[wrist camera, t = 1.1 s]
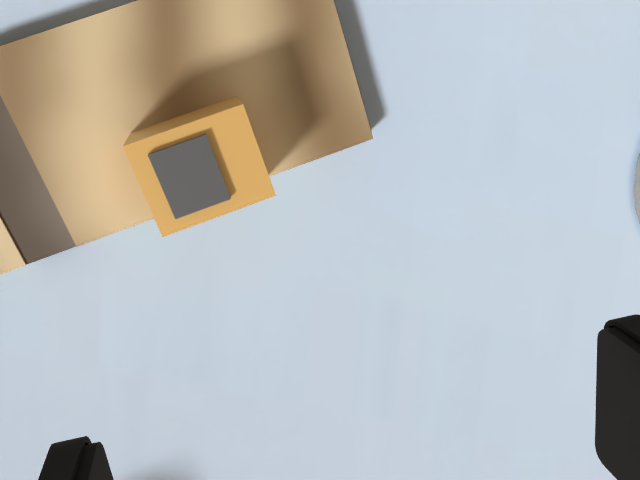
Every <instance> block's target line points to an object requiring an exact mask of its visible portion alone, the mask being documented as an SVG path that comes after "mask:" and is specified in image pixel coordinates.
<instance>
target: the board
mask: <svg viewBox="0 0 640 480" xmlns="http://www.w3.org/2000/svg"><path fill="white" fill-rule="evenodd" d="M235 96H237V97H238V98H239V100H240V101H241V102H242V103H243V105H244V108H245V111H246V113H247V116H248V119H249V122H250V125H251V127H252V130H253V133H254V136H255V138H256V141H257V144H258V147H259V150H260V152H261V155H262V158H263V161H264V164H265V166H266V169H267V172H268V175H269V176H272V175H275V174H277V173H280V172H283V171H286V170H288V169H291V168H294V167H297V166H299V165H302V164H305V163H308V162H310V161H313V160H316V159H318V158H321V157H324V156H327V155H329V154H332V153H335V152H338V151H340V150H343V149H346V148H349V147H351V146H354V145H357V144H360V143H362V142H365V141H368V140H371V139H373V136H372V133H371V129H370V126H369V122H368V119H367V115H366V112H365V108H364V105H363V101H362V98H361V94H360V91H359V87H358V84H357V80H356V77H355V73H354V70H353V66H352V63H351V59H350V56H349V52H348V49H347V45H346V42H345V38H344V35H343V31H342V28H341V24H340V21H339V17H338V14H337V10H336V7H335V3H334V0H137V1H134V2H131V3H128V4H125V5H122V6H119V7H116V8H113V9H110V10H107V11H104V12H101V13H98V14H95V15H92V16H89V17H86V18H83V19H80V20H77V21H74V22H71V23H68V24H65V25H62V26H59V27H56V28H53V29H50V30H47V31H44V32H41V33H38V34H35V35H32V36H29V37H26V38H23V39H20V40H17V41H14V42H11V43H8V44H5V45H2V46H0V274H3V273H6V272H9V271H11V270H14V269H17V268H20V267H22V266H25V265H26V264H29V263H32V262H34V261H37V260H40V259H43V258H45V257H48V256H51V255H54V254H56V253H59V252H62V251H65V250H67V249H70V248H73V247H77V246H80V245H83V244H85V243H88V242H91V241H94V240H96V239H99V238H102V237H105V236H107V235H110V234H113V233H116V232H118V231H121V230H124V229H127V228H129V227H132V226H135V225H137V224H140V223H143V222H146V221H148V220H151V219H154V216H153V214H152V212H151V210H150V207H149V205H148V203H147V201H146V198H145V196H144V194H143V192H142V189H141V187H140V185H139V183H138V180H137V178H136V176H135V174H134V171H133V169H132V167H131V164H130V162H129V160H128V158H127V155H126V153H125V151H124V149H123V145H124V143H125V141H126V140H127V138H128V136H129V135H130V133H133V132H135V131H138V130H141V129H144V128H147V127H150V126H152V125H155V124H158V123H161V122H164V121H167V120H170V119H172V118H175V117H178V116H181V115H184V114H187V113H190V112H192V111H195V110H198V109H201V108H204V107H207V106H209V105H212V104H215V103H218V102H221V101H224V100H227V99H229V98H232V97H235Z"/></svg>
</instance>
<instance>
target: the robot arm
mask: <svg viewBox="0 0 640 480" xmlns="http://www.w3.org/2000/svg"><path fill="white" fill-rule="evenodd" d="M634 197H635V209H636V213H637V216H638V220H639V223H640V155H639V159H638V163H637V167H636V173H635V184H634ZM595 448H596V452H597V455H598V457H599V459H600V461H601V462H602V464H603V465H604V466H605V467H606V468H607V469H608V470H609V471H610V472H611V473H612V475H613V476H614V477H615V478H616V479H617V480H640V315H631V316H627V317H622V318H617V319H613V320H609V321H608V322H606V324H605V326H604V329H603V330H601V331H600V332H599V334H598V338H597V382H596V425H595ZM38 480H113V476H112V473H111V470H110V467H109V463H108V460H107V457H106V453H105V450H104V447H103V445H102V443H101V442H97V443H91V441H90V439H89V438H88V437H87V436H85V437H80V438H75V439H71V440H66V441H62V442H57V443H54V444H52V445H51V447H50V448H49V451H48V454H47V457H46V459H45V462H44V465H43V468H42V471H41V473H40V476H39V479H38Z"/></svg>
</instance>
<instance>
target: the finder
mask: <svg viewBox="0 0 640 480" xmlns="http://www.w3.org/2000/svg"><path fill="white" fill-rule="evenodd" d="M123 149H124V151H125V153H126V155H127V158H128V160H129V162H130V164H131V167H132V169H133V171H134V174H135V176H136V178H137V180H138V183H139V185H140V187H141V189H142V192H143V194H144V196H145V198H146V201H147V203H148V205H149V207H150V210H151V212H152V214H153V216H154V219H155V221H156V223H157V225H158V228H159V230H160V232H161V235H162V237H164V236H167V235H170V234H172V233H175V232H178V231H180V230H183V229H186V228H189V227H191V226H194V225H197V224H200V223H202V222H205V221H208V220H210V219H213V218H216V217H219V216H221V215H224V214H227V213H229V212H232V211H235V210H238V209H240V208H243V207H246V206H248V205H251V204H254V203H257V202H259V201H262V200H265V199H267V198H270V197H273V196H276V194H275V192H274V189H273V186H272V183H271V180H270V178H269V175H268V172H267V169H266V166H265V164H264V161H263V158H262V155H261V152H260V150H259V147H258V144H257V141H256V138H255V136H254V133H253V130H252V127H251V125H250V122H249V119H248V116H247V113H246V111H245V108H244V105H243V103H242V102H241V101H240V100H239V98H238V97H237V96H235V97H232V98H229V99H227V100H224V101H221V102H218V103H215V104H212V105H209V106H207V107H204V108H201V109H198V110H195V111H192V112H190V113H187V114H184V115H181V116H178V117H175V118H172V119H170V120H167V121H164V122H161V123H158V124H155V125H152V126H150V127H147V128H144V129H141V130H138V131H135V132H133V133H130V135H129V136H128V138H127V140H126V141H125V143H124V145H123Z"/></svg>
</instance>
